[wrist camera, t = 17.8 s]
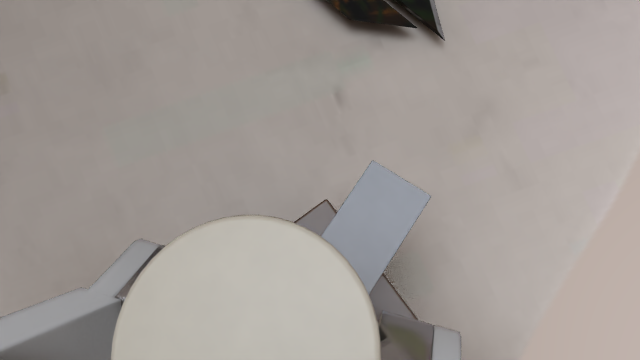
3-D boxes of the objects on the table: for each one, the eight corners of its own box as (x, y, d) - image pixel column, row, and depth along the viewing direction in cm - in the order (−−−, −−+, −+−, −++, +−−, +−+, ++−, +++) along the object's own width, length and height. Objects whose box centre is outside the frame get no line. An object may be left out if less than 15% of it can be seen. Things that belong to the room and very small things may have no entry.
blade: (250, 539, 13) (95, 868, 5) (144, 450, 14) (-126, 628, 6) (452, 215, 15) (557, 110, 7) (350, 151, 16) (342, -7, 8)
